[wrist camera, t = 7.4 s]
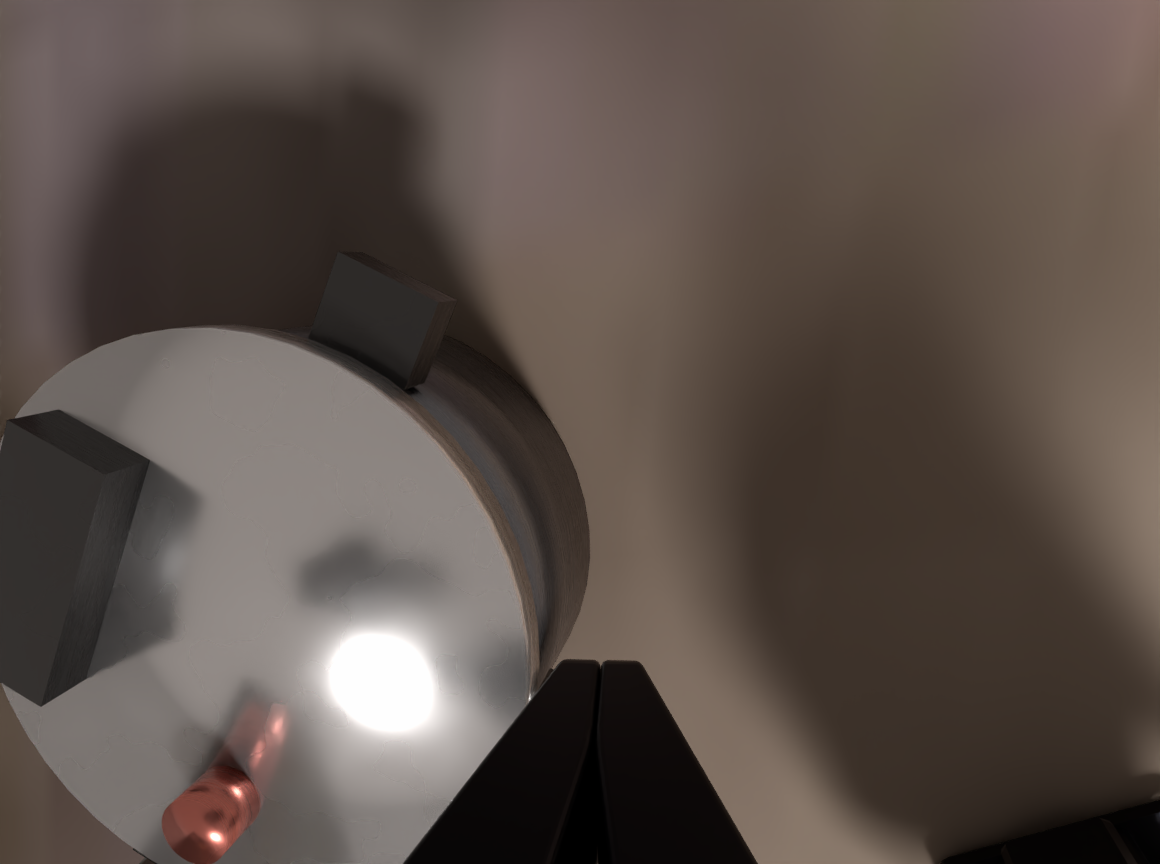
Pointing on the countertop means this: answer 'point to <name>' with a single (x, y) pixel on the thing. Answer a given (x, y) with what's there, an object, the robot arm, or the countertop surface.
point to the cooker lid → (255, 599)
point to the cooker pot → (470, 424)
